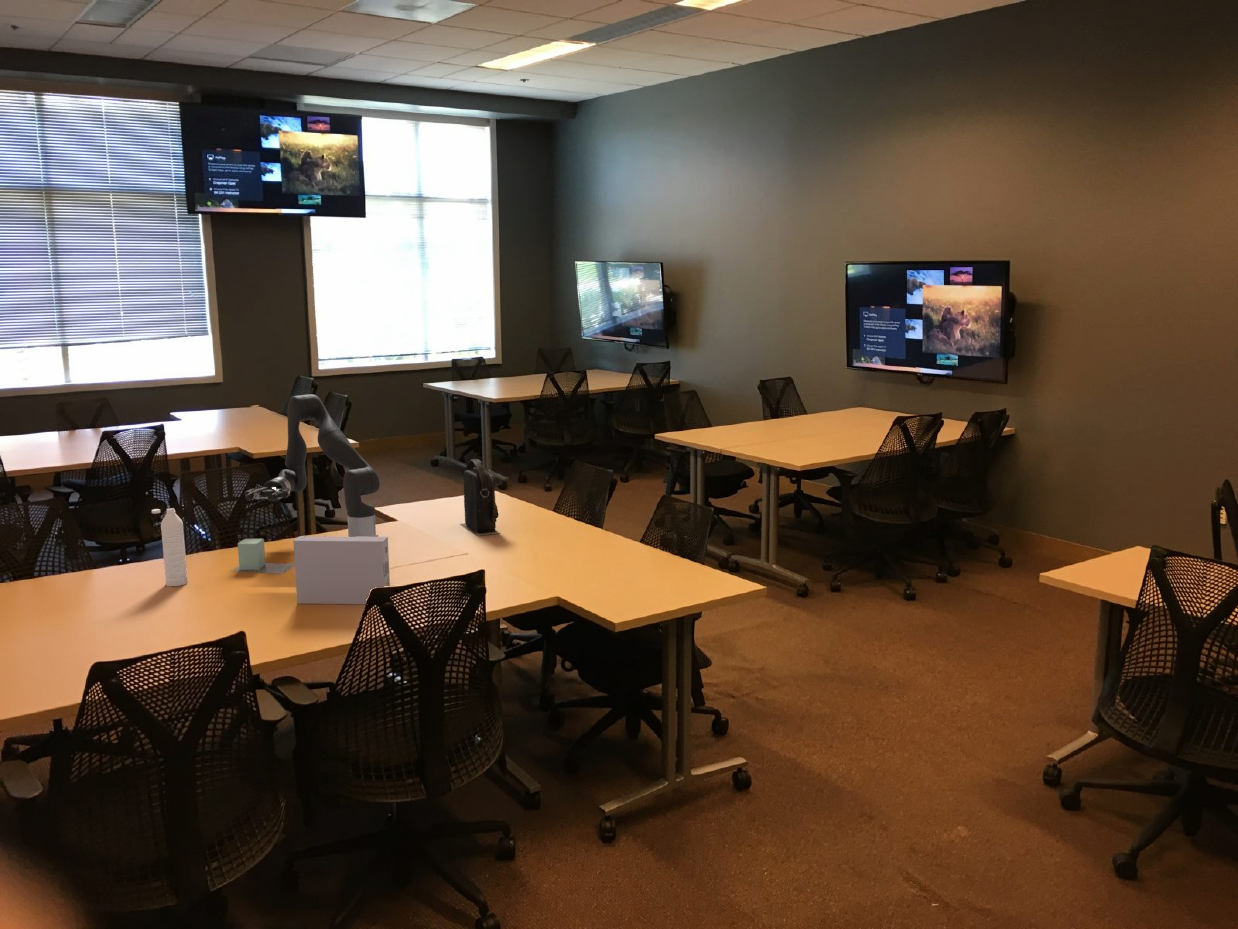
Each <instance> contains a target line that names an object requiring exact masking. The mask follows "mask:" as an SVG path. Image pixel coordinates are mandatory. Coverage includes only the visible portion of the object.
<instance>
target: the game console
mask: <svg viewBox="0 0 1238 929" xmlns="http://www.w3.org/2000/svg"><path fill="white" fill-rule="evenodd" d="M292 541H293V554H294V555H293V556H294V557H293V558H294V564H295V567H294V574H295V588H296V590H295V591H296V604H297V605H299V604H300V605H301V604H303V605H305V604H307V605H311V604H312V605H315V604H317V605H322V604H323V605H367V604H366V599H367V598H368V596H369V593H370V590H371V589H373V588H375V587H384V586H390V587H391V582H390V581H391V579H390V552H389V536H378V537H367V536H357V537H349V536H307V535H301V536H300V535H299V536H298V537H296V538H295V539H293V540H292Z"/></svg>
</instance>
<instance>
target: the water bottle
mask: <svg viewBox="0 0 1238 929" xmlns="http://www.w3.org/2000/svg"><path fill="white" fill-rule="evenodd" d="M160 513H161V509H159V508H154V509H151V514H155V515H156V514H160ZM160 529H161V530H160V531H161V540H162V553H163V564H164V575H165V585H166V586H167V587H172V586H175V587H181V586H180V585H182V586H184V585H187V584H188V582H189V581H188V569H187V563H186V562H187V559H186V558H187V557H186V556H187V555H186V546H185V534H184V523H183V520H182V519H181V518H180V516H179V515H178V514H177V513H176V510H175V508H174V507H172V508H171V507H170V508H166V514H165V516H164V517H163V519H162V520H161V523H160Z"/></svg>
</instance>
